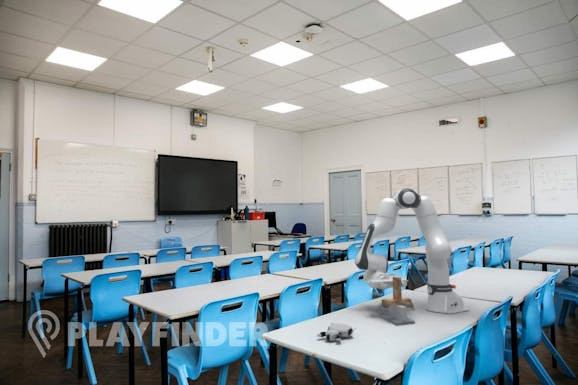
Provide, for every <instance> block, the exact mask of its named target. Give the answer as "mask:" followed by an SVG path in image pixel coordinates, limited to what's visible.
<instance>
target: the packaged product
mask: <svg viewBox="0 0 578 385" xmlns="http://www.w3.org/2000/svg"><path fill="white" fill-rule="evenodd" d="M383 300H387V298H382V299H381V302H379V303H378V305H379V306H378V307H379V308H380V310H382V311H383V310H384V311H387V310H388V311H389V306H385V305H383ZM403 306H405V307H407V311H414V310H415V308H414V303H413V301H412V300H411V304H407V305H403Z"/></svg>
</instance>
